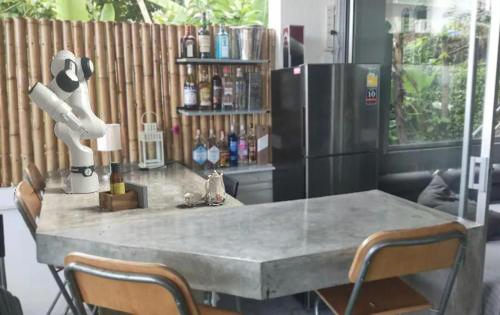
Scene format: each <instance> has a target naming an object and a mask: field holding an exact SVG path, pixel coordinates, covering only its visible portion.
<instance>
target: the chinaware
mask: <svg viewBox="0 0 500 315" xmlns="http://www.w3.org/2000/svg"><path fill="white" fill-rule="evenodd" d="M223 176H224V174H223V173H220V174H219V173H218V172H217V171H216V170H215V169H214V170H213V171H212V172H211V174H209V175H207V177H208V179H207V180H206V181H205V185H204V190H205V195H204V197H203V201H204V202H205V203H206V205H207V204H211V205H213V204H222V203H224V204H225V201H226V200H227V195H226V188H225V184H224V180H223ZM202 196H203V194H200V193H199V192H193V193H190V192H188V193H185V194H183V195H182V197H183V198H184V201H185V205H186V206H189V207H191V206H192V208H193V206H194V207H197V205H198V203H199V202H201V201H200V200H201V197H202Z"/></svg>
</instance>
